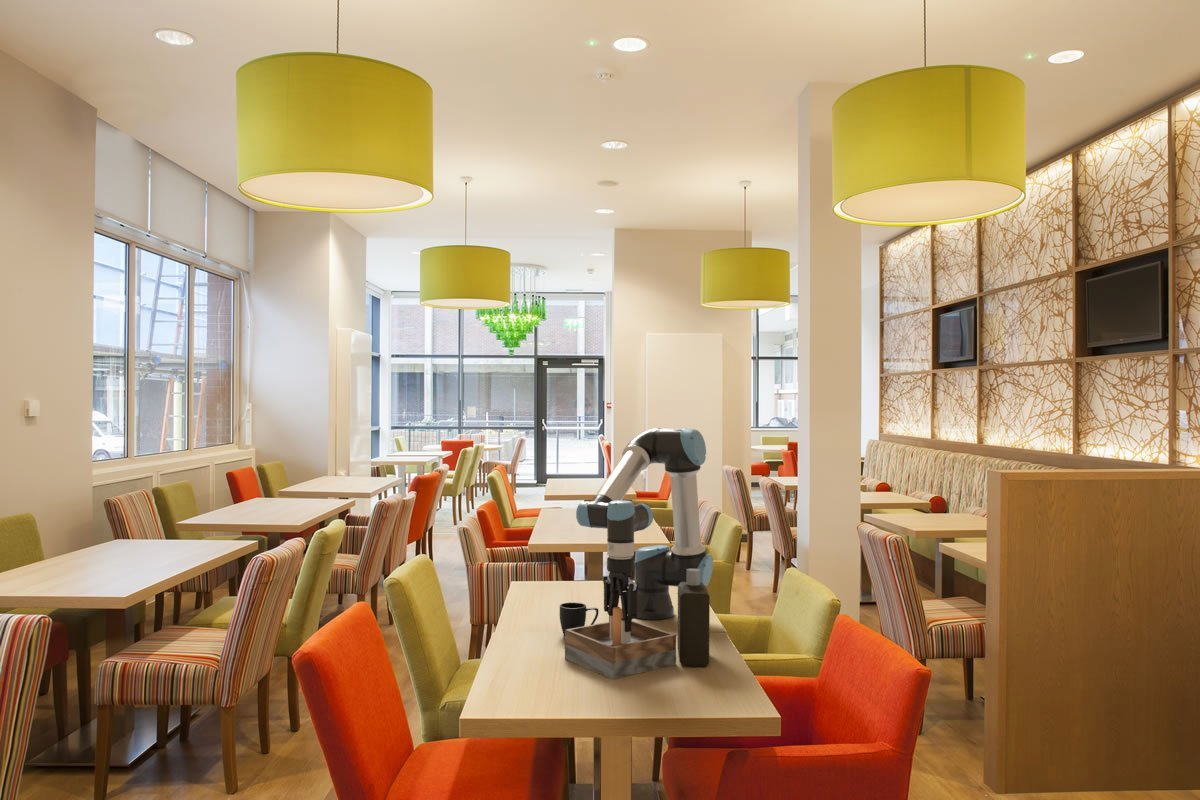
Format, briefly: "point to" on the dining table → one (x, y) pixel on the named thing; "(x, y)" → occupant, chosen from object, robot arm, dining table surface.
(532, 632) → the dining table surface
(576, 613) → the mug
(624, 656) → the crate
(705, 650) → the bottle
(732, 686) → the dining table surface
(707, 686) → the dining table surface
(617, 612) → the peg
